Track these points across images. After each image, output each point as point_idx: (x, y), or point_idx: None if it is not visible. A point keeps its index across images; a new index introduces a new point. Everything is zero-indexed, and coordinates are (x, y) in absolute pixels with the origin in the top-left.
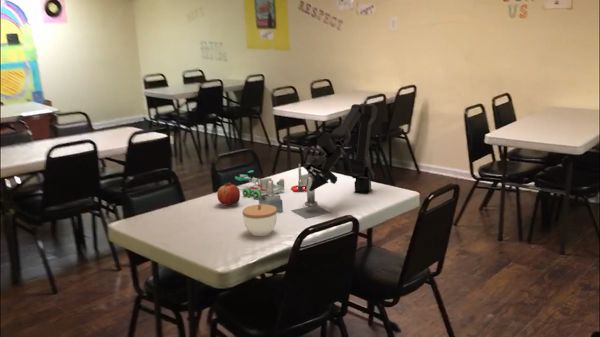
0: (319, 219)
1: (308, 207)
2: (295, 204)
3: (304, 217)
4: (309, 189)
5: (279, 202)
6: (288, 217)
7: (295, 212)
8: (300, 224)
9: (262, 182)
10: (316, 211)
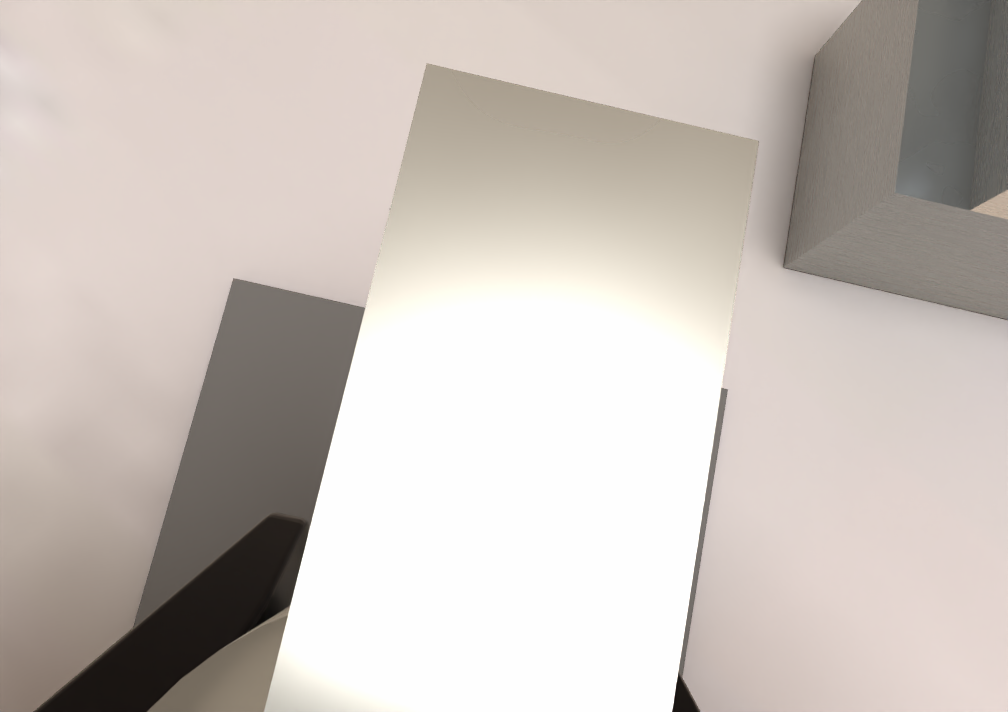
0: (15, 409)
1: None
2: (949, 672)
3: (274, 288)
4: (274, 518)
5: (881, 149)
6: None
7: None
8: (104, 51)
9: None
10: None
